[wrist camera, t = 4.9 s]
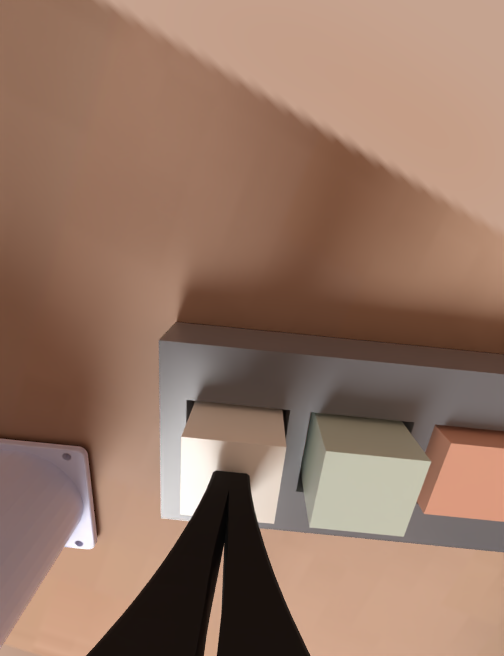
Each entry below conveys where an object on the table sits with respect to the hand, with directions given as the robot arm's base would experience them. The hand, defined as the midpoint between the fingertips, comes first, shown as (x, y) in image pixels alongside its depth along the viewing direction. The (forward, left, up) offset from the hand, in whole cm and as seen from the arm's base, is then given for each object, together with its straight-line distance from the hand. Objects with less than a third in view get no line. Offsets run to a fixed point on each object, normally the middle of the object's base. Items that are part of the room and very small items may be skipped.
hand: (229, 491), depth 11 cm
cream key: (0, 0, -3) cm, 3 cm away
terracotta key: (+11, 0, -5) cm, 12 cm away
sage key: (+5, 0, -3) cm, 6 cm away
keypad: (+5, 0, -5) cm, 7 cm away
